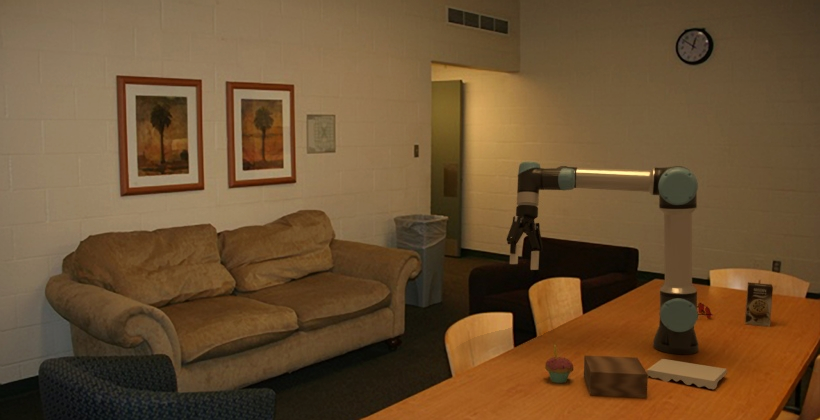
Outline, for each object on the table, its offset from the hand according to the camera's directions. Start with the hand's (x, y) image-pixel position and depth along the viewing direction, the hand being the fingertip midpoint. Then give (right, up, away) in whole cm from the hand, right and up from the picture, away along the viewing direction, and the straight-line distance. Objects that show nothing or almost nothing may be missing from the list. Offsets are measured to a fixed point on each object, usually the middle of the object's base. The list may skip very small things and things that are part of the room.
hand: (524, 266), depth 257 cm
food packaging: (+47, -34, -22) cm, 62 cm away
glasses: (+76, -25, +57) cm, 98 cm away
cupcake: (+7, -33, -26) cm, 42 cm away
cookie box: (+100, -26, +44) cm, 112 cm away
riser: (+22, -34, -32) cm, 51 cm away
